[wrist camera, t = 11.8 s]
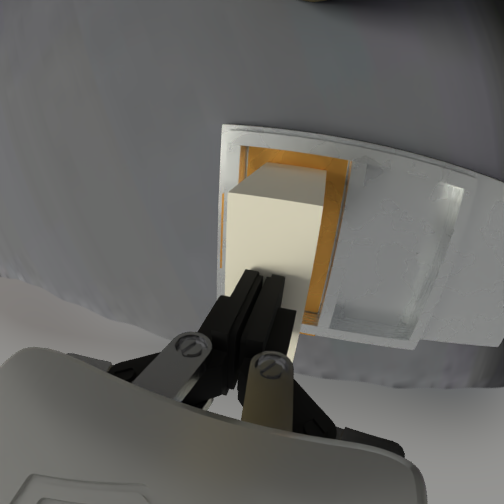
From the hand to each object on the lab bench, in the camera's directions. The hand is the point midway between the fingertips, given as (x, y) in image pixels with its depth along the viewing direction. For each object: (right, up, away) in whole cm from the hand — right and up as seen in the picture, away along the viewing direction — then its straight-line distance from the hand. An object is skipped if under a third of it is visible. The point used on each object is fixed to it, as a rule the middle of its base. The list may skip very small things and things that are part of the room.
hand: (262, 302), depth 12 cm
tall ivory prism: (+2, +3, +6) cm, 7 cm away
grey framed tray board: (+10, +2, +5) cm, 11 cm away
